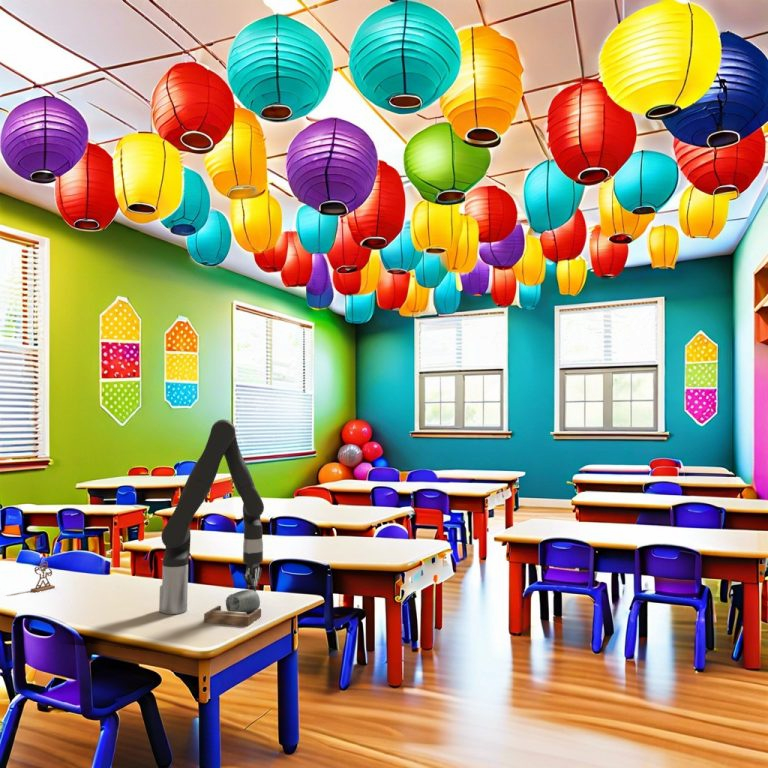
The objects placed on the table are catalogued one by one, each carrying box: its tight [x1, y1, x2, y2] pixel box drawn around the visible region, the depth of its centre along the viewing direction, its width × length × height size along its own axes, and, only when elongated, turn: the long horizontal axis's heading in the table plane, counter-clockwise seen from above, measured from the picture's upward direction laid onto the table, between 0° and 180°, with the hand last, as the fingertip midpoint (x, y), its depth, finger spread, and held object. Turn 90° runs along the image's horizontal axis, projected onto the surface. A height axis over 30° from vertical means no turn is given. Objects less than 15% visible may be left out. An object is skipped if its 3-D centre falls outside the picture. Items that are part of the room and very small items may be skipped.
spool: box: [225, 589, 261, 614], centre depth 254 cm, size 14×10×10 cm
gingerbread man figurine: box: [30, 560, 56, 593], centre depth 287 cm, size 9×4×12 cm, turn 154°
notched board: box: [203, 605, 262, 627], centre depth 246 cm, size 17×11×4 cm, turn 77°
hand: (252, 595), depth 262 cm, fingers closed
